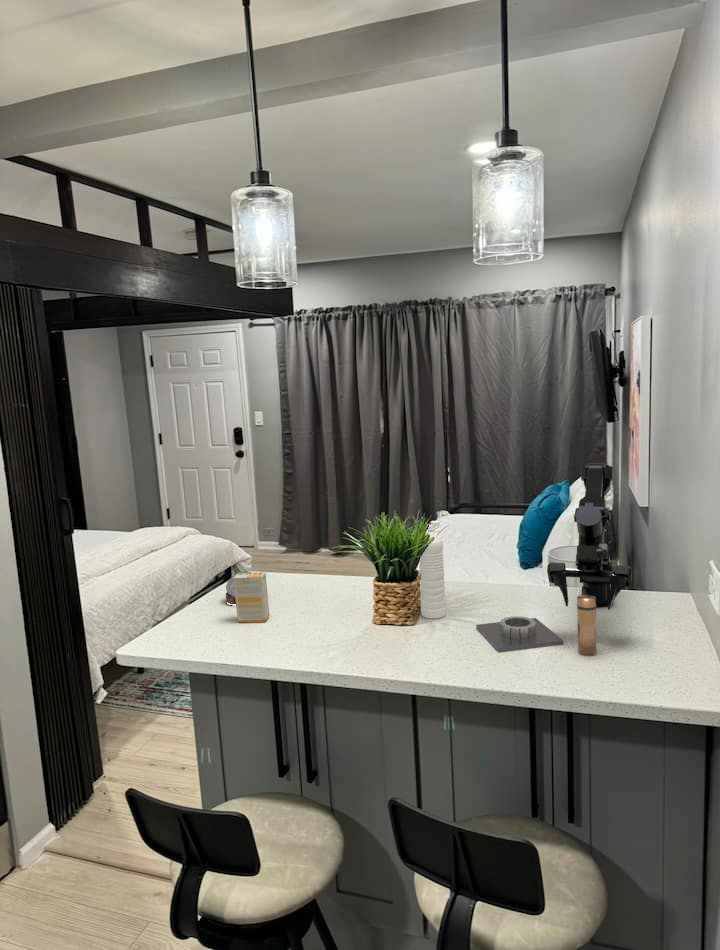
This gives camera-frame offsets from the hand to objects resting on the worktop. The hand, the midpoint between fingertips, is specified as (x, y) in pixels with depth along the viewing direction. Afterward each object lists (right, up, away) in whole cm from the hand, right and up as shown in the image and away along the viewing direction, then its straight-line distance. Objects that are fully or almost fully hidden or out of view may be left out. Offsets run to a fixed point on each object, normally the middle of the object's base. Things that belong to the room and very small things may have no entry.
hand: (587, 607), depth 160 cm
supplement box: (-82, -10, +34) cm, 89 cm away
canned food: (-88, -8, +51) cm, 102 cm away
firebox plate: (-13, -9, +11) cm, 20 cm away
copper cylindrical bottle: (0, -10, -1) cm, 10 cm away
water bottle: (-32, -8, +31) cm, 45 cm away
